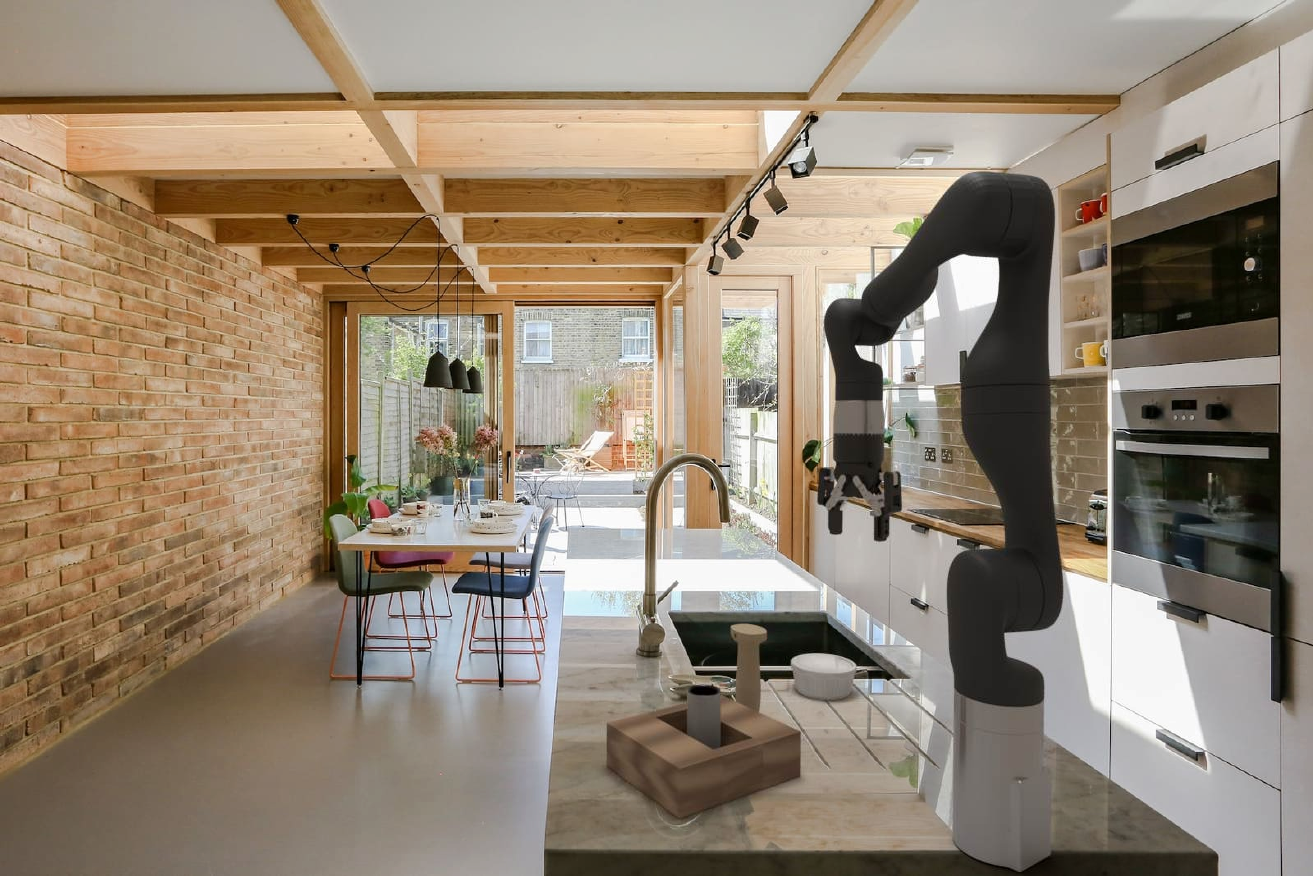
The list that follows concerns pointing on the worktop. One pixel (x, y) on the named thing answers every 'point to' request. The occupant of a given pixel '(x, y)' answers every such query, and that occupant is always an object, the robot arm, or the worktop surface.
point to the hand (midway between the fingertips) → (857, 537)
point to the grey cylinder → (704, 715)
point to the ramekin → (823, 676)
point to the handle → (748, 663)
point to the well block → (702, 756)
